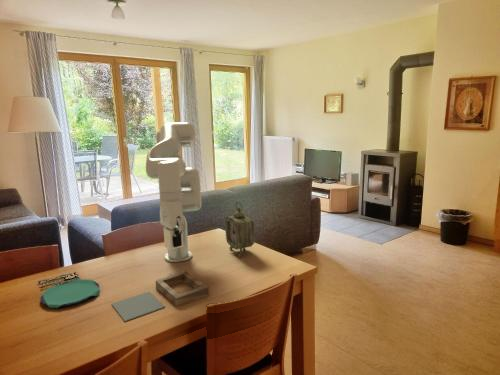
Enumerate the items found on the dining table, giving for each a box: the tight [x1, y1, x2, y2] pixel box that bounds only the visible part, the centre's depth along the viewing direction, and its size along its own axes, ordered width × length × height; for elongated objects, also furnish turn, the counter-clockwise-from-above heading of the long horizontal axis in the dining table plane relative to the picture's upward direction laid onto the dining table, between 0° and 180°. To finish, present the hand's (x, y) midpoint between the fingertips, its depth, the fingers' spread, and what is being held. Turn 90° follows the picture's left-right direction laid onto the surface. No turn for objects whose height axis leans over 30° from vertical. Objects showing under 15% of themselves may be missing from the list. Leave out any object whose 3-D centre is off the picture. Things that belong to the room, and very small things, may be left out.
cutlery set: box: [37, 271, 101, 309], centre depth 138 cm, size 20×30×2 cm, turn 39°
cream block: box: [162, 226, 183, 250], centre depth 130 cm, size 5×5×7 cm
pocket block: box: [155, 270, 210, 307], centre depth 136 cm, size 18×13×3 cm
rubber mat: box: [111, 291, 166, 323], centre depth 126 cm, size 14×14×1 cm
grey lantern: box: [224, 201, 256, 258], centre depth 170 cm, size 14×9×25 cm, turn 27°
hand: (173, 243), depth 131 cm, fingers closed on cream block, 5 cm apart
